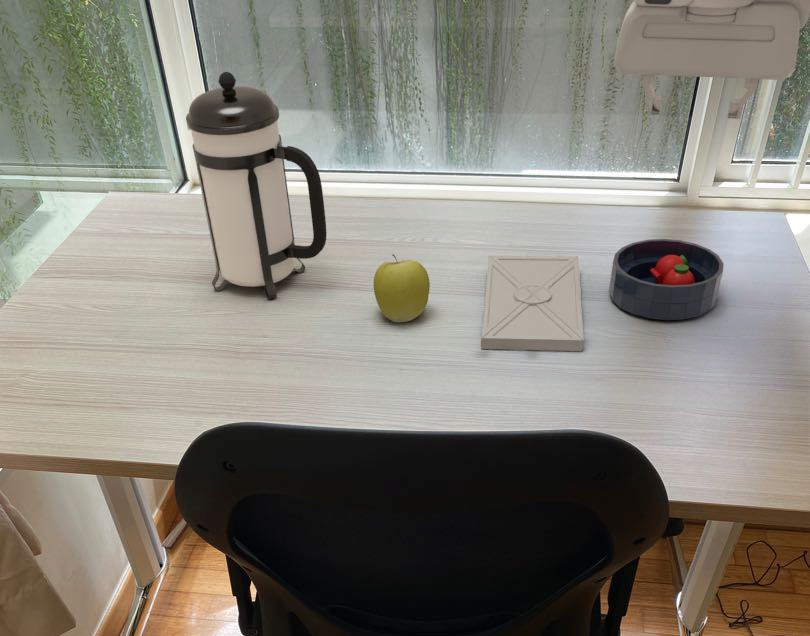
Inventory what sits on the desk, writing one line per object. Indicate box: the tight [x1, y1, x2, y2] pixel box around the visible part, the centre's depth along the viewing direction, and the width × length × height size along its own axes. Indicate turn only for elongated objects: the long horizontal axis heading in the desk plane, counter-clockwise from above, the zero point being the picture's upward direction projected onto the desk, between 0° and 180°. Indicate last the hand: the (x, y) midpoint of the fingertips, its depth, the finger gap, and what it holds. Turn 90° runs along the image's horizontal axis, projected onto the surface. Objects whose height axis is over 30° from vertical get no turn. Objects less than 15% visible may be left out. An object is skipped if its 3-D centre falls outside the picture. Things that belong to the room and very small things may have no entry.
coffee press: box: [185, 71, 327, 300], centre depth 128 cm, size 17×16×30 cm
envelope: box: [480, 255, 584, 352], centre depth 127 cm, size 24×2×14 cm
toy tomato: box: [663, 264, 695, 285], centre depth 125 cm, size 4×4×5 cm
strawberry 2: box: [650, 255, 689, 285], centre depth 129 cm, size 4×4×5 cm
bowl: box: [608, 238, 725, 321], centre depth 127 cm, size 15×15×6 cm
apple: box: [373, 254, 431, 323], centre depth 125 cm, size 8×8×10 cm
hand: (693, 115), depth 106 cm, fingers open, 8 cm apart
